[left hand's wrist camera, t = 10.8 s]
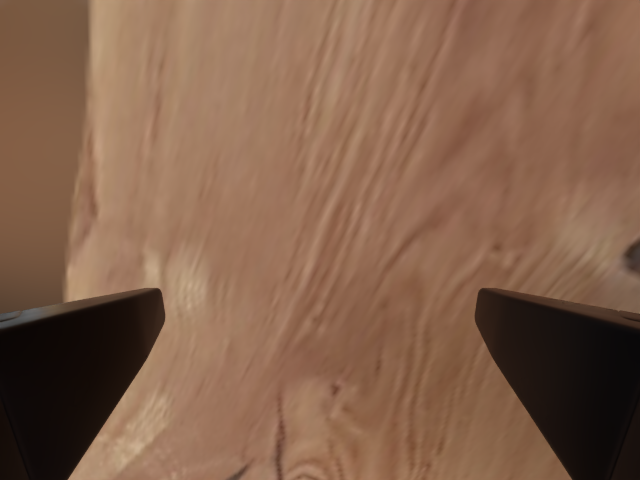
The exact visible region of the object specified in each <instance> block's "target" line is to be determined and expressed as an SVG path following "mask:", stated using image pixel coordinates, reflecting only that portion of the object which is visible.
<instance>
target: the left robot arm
mask: <svg viewBox="0 0 640 480" xmlns="http://www.w3.org/2000/svg"><path fill="white" fill-rule="evenodd" d="M164 322H165V310H164V303H163V297H162V292H161V290H160V289H158V288H143V289H138V290H132V291H127V292H122V293H116V294H111V295H105V296H100V297H94V298H89V299H83V300H78V301H72V302H67V303H62V304H56V305H50V306H45V307H39V308H34V309H28V310H24V311H22V312H21V311H15V312H9V313H3V314H0V480H68V478H69V477H70V475H71V474H72V472H73V471H74V469H75V468H76V466H77V465H78V463H79V462H80V460H81V459H82V457H83V456H84V454H85V453H86V451H87V449H88V448H89V446H90V445H91V443H92V442H93V440H94V439H95V437H96V436H97V434H98V433H99V431H100V430H101V428H102V427H103V425H104V424H105V422H106V421H107V419H108V418H109V416H110V414H111V413H112V411H113V410H114V408H115V407H116V405H117V404H118V402H119V401H120V399H121V398H122V396H123V395H124V393H125V392H126V390H127V389H128V387H129V386H130V384H131V383H132V381H133V380H134V378H135V376H136V375H137V373H138V372H139V370H140V369H141V367H142V366H143V364H144V363H145V361H146V359H147V357H148V356H149V354H150V352H151V350H152V348H153V345H154V343H155V341H156V339H157V337H158V335H159V333H160V331H161V329H162V327H163V325H164ZM475 322H476V325H477V327H478V329H479V331H480V333H481V335H482V337H483V339H484V341H485V343H486V345H487V348H488V350H489V352H490V354H491V356H492V357H493V359H494V361H495V363H496V364H497V366H498V367H499V369H500V370H501V372H502V373H503V375H504V376H505V378H506V379H507V381H508V383H509V384H510V386H511V387H512V389H513V390H514V392H515V393H516V395H517V396H518V398H519V399H520V401H521V402H522V404H523V405H524V407H525V408H526V410H527V411H528V413H529V414H530V416H531V417H532V419H533V421H534V422H535V424H536V425H537V427H538V428H539V430H540V431H541V433H542V434H543V436H544V437H545V439H546V440H547V442H548V443H549V445H550V446H551V448H552V449H553V451H554V452H555V454H556V456H557V457H558V459H559V460H560V462H561V463H562V465H563V466H564V468H565V469H566V471H567V472H568V474H569V475H570V477H571V478H572V480H640V314H637V313H631V312H625V311H619V312H618V311H617V310H612V309H606V308H601V307H595V306H590V305H584V304H579V303H573V302H568V301H562V300H557V299H552V298H546V297H541V296H535V295H530V294H524V293H519V292H513V291H508V290H502V289H497V288H482V289H480V290H479V292H478V297H477V303H476V310H475Z"/></svg>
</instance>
